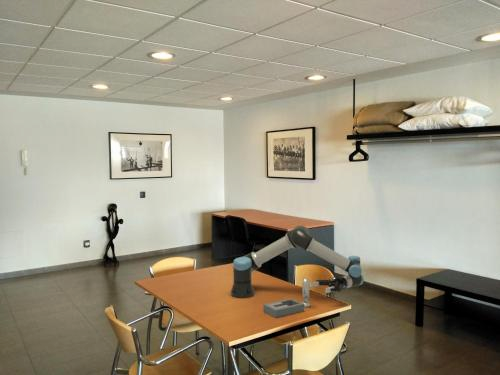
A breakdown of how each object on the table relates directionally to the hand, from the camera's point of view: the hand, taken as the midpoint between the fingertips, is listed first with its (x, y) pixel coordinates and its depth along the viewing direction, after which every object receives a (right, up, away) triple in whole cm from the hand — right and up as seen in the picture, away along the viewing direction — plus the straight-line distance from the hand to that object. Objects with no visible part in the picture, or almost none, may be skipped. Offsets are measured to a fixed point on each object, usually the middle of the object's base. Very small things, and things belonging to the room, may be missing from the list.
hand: (318, 287), depth 242 cm
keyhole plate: (-22, -10, -14) cm, 28 cm away
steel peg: (-8, -10, -5) cm, 13 cm away
